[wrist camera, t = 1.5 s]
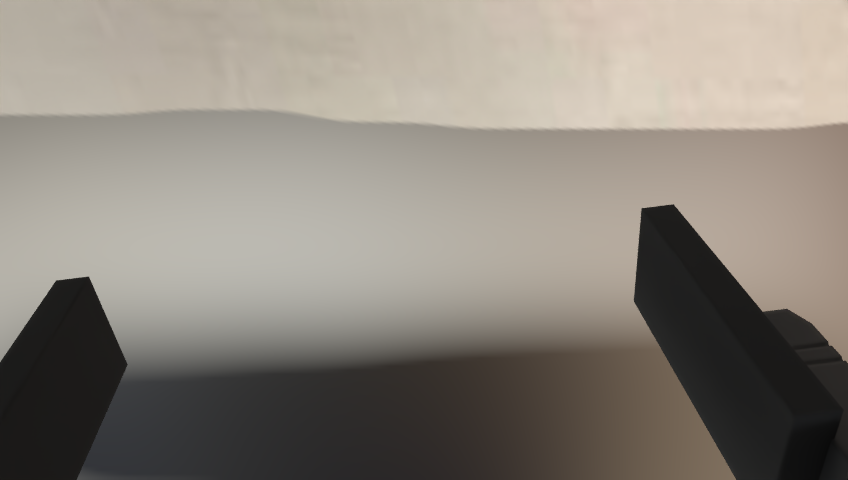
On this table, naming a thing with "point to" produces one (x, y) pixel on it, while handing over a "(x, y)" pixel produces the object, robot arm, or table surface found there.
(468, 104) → the table surface
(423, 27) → the table surface
